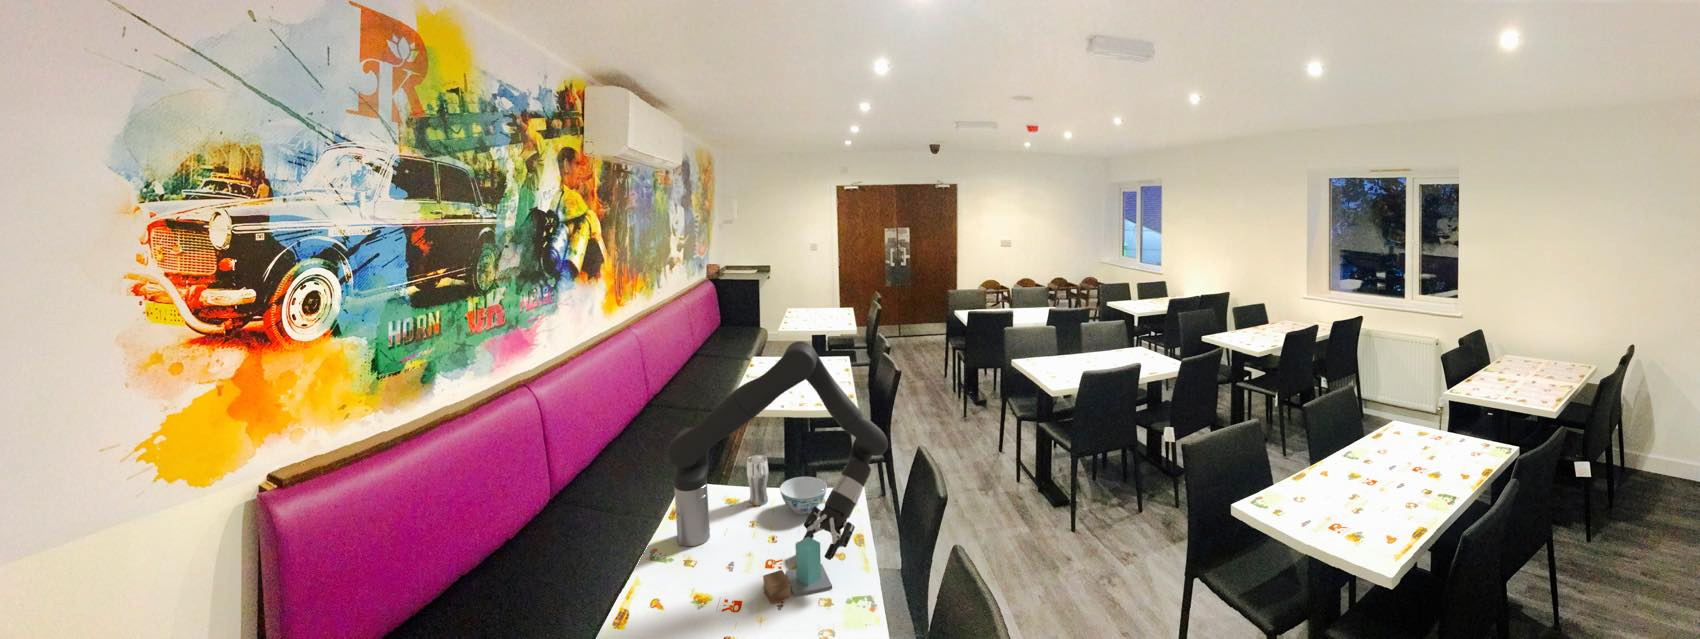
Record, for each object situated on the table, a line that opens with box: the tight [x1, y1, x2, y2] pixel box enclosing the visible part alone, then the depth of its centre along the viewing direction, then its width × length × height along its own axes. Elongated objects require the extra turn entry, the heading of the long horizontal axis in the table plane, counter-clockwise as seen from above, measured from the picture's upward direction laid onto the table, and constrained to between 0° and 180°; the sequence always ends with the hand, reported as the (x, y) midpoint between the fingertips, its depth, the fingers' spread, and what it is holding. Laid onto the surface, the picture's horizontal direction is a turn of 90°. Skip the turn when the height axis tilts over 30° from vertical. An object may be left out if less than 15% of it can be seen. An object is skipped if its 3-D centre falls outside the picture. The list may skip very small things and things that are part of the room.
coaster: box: [785, 563, 833, 598], centre depth 155 cm, size 10×10×1 cm
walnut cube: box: [762, 569, 791, 605], centre depth 149 cm, size 5×5×5 cm
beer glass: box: [746, 454, 769, 507], centre depth 196 cm, size 7×7×15 cm
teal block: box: [795, 537, 822, 586], centre depth 154 cm, size 4×4×10 cm
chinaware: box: [779, 476, 828, 515], centre depth 191 cm, size 15×15×8 cm
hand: (815, 552), depth 155 cm, fingers open, 8 cm apart
